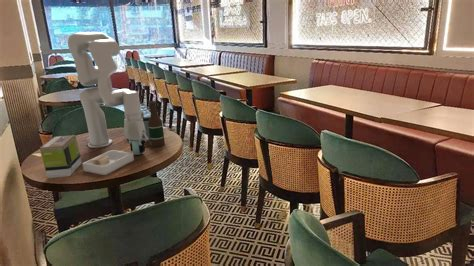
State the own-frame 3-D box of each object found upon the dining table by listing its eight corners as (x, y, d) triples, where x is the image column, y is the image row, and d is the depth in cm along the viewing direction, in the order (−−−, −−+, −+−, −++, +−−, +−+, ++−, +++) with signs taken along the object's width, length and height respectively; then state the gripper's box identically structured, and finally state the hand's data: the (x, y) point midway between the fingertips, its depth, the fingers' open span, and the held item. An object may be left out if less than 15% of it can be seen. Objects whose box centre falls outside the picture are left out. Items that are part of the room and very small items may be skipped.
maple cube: (93, 169, 149) (91, 159, 147) (102, 165, 153) (100, 155, 152) (102, 171, 147) (100, 160, 145) (110, 166, 151) (108, 156, 150)
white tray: (83, 171, 149) (82, 163, 148) (112, 157, 164) (111, 149, 163) (106, 175, 144) (104, 166, 142) (133, 160, 159) (132, 152, 158)
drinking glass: (162, 137, 191) (160, 117, 187) (149, 143, 183) (147, 122, 179) (150, 135, 196) (147, 115, 193) (137, 140, 188) (134, 120, 184)
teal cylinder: (130, 153, 165) (129, 140, 163) (137, 150, 169) (136, 137, 167) (138, 155, 163) (137, 142, 161) (145, 151, 167) (143, 138, 165)
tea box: (61, 165, 158) (54, 135, 154) (82, 163, 159) (76, 134, 154) (46, 178, 144) (38, 146, 139) (70, 176, 144) (63, 145, 140)
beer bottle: (161, 147, 175) (156, 103, 167) (148, 147, 176) (142, 103, 169) (167, 142, 182) (162, 99, 175) (154, 142, 183) (148, 100, 176)
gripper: (114, 116, 160) (119, 151, 166) (142, 120, 154) (146, 156, 159) (125, 113, 167) (130, 146, 173) (152, 116, 160) (156, 151, 166)
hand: (138, 151), depth 166 cm, fingers closed on teal cylinder, 5 cm apart
